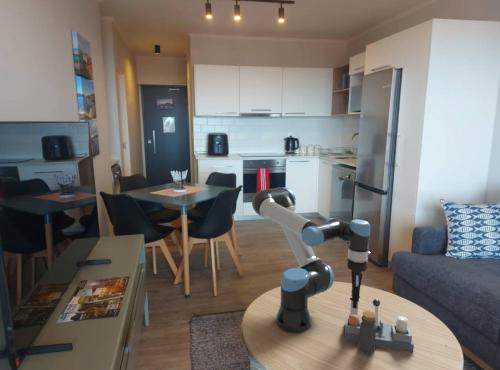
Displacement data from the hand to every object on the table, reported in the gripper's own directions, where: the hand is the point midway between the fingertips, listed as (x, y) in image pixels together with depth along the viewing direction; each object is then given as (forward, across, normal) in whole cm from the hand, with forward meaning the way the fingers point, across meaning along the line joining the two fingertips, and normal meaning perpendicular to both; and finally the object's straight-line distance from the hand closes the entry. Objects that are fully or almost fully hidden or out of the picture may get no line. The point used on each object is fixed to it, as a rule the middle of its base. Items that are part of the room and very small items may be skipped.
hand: (353, 313), depth 136 cm
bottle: (+10, -8, -5) cm, 14 cm away
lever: (+6, +2, -9) cm, 11 cm away
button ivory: (+4, 0, -18) cm, 19 cm away
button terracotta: (+6, 0, 0) cm, 6 cm away
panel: (+10, +2, -10) cm, 14 cm away
